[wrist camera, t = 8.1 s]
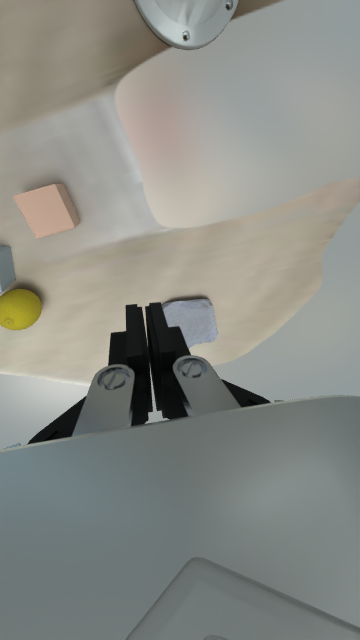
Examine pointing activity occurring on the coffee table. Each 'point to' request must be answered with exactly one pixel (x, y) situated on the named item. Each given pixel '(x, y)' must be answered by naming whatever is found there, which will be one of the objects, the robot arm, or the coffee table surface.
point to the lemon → (19, 309)
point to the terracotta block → (48, 210)
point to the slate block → (6, 268)
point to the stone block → (192, 320)
